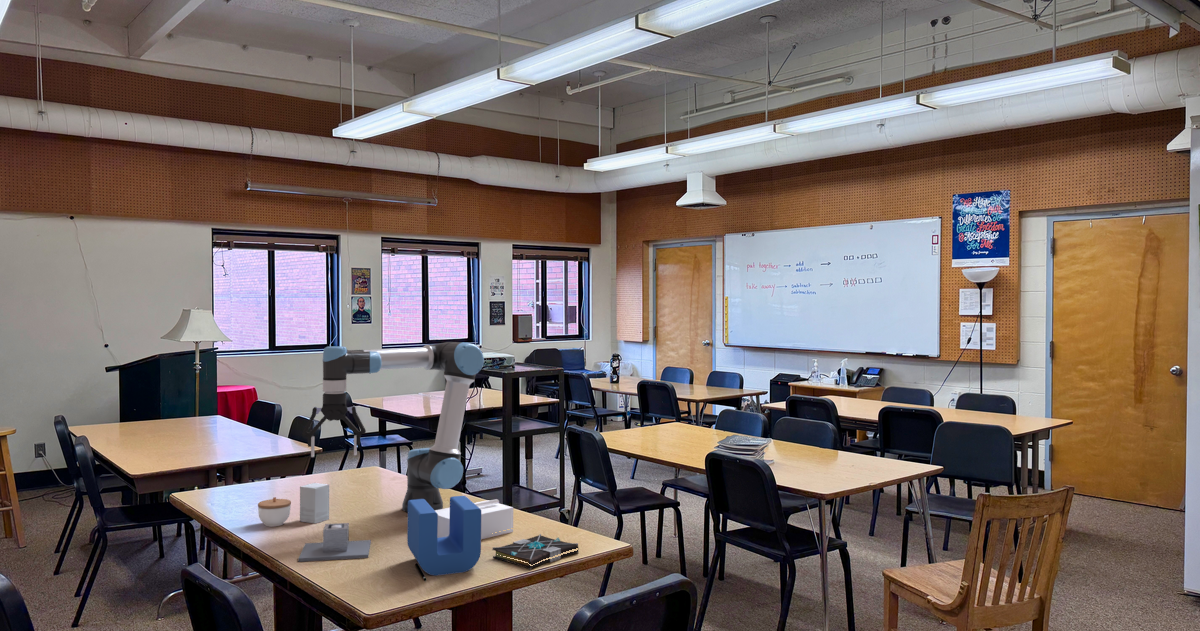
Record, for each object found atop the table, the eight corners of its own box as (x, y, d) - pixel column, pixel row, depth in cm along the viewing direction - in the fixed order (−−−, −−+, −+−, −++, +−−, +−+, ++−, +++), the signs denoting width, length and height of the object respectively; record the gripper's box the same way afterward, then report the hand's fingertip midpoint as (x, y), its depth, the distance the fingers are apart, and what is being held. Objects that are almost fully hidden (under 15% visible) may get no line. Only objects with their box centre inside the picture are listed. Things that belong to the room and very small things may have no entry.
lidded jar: (278, 529, 270) (279, 501, 270) (251, 527, 272) (251, 500, 272) (296, 521, 281) (297, 495, 281) (269, 519, 283) (270, 493, 283)
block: (418, 577, 222) (419, 514, 222) (407, 559, 239) (407, 500, 239) (480, 570, 230) (481, 508, 230) (465, 553, 246) (466, 495, 246)
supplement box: (329, 519, 284) (330, 484, 284) (314, 524, 278) (314, 488, 278) (314, 516, 288) (314, 482, 288) (298, 521, 281) (299, 486, 281)
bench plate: (370, 543, 255) (371, 518, 255) (368, 557, 240) (368, 531, 240) (305, 546, 251) (305, 521, 251) (298, 561, 235) (298, 534, 235)
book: (530, 571, 230) (531, 554, 230) (491, 559, 241) (491, 543, 241) (579, 554, 247) (579, 538, 247) (540, 544, 258) (540, 529, 258)
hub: (348, 544, 250) (348, 522, 250) (346, 551, 243) (347, 528, 243) (325, 546, 248) (325, 523, 248) (322, 552, 241) (323, 529, 241)
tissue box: (427, 537, 263) (427, 504, 264) (487, 524, 281) (488, 493, 281) (451, 546, 253) (452, 512, 253) (513, 532, 271) (513, 500, 271)
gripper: (373, 390, 271) (373, 452, 271) (296, 392, 265) (296, 455, 265) (372, 392, 264) (372, 456, 264) (293, 394, 258) (293, 459, 258)
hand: (334, 455), depth 265 cm, fingers open, 13 cm apart
